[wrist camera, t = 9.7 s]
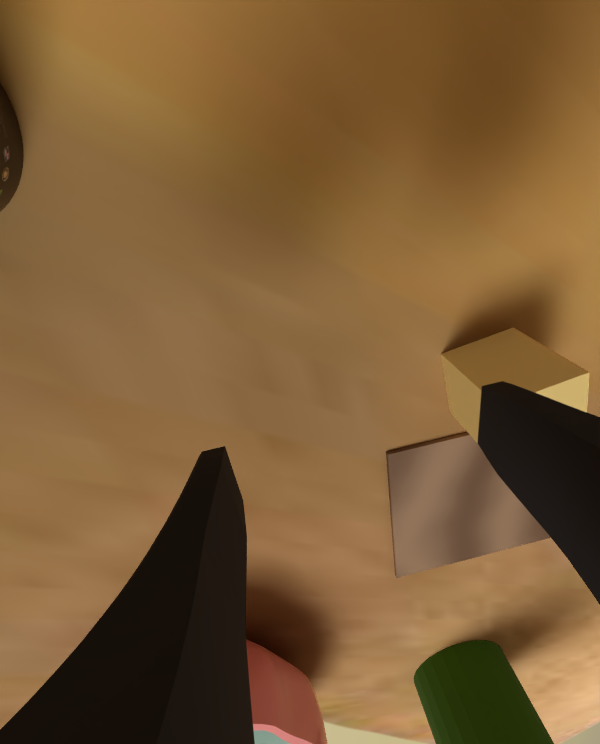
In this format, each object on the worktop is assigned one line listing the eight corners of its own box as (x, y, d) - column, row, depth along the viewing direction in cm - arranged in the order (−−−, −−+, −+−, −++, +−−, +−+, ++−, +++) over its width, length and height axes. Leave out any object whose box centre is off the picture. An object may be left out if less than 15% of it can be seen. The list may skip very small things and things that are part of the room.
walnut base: (564, 397, 25) (579, 408, 24) (538, 524, 31) (549, 537, 30) (380, 441, 24) (387, 454, 23) (390, 563, 30) (396, 577, 29)
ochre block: (501, 320, 22) (589, 372, 16) (505, 379, 24) (584, 442, 18) (432, 345, 22) (497, 405, 16) (442, 402, 24) (503, 472, 18)
